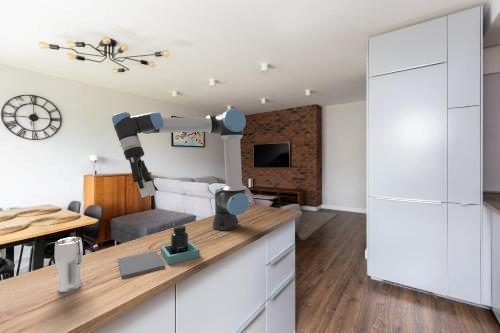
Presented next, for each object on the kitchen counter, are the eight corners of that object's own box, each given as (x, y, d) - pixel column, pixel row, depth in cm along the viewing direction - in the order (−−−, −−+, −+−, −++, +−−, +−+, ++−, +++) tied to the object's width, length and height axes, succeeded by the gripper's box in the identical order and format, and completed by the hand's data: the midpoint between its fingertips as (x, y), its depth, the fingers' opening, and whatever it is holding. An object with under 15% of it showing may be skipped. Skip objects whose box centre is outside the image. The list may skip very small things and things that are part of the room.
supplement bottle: (179, 260, 94) (178, 230, 93) (167, 256, 97) (166, 227, 97) (191, 254, 100) (191, 225, 99) (180, 250, 103) (180, 223, 103)
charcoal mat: (155, 253, 101) (155, 250, 101) (164, 267, 87) (164, 265, 87) (117, 261, 93) (117, 258, 93) (121, 278, 80) (121, 275, 80)
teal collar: (189, 247, 107) (189, 240, 107) (199, 256, 97) (199, 249, 97) (160, 253, 100) (160, 246, 100) (168, 264, 90) (168, 256, 90)
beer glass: (53, 296, 70) (51, 246, 69) (59, 284, 76) (57, 238, 76) (82, 289, 73) (80, 242, 73) (85, 279, 79) (83, 235, 79)
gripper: (132, 155, 112) (148, 197, 112) (111, 146, 88) (131, 200, 87) (148, 150, 114) (163, 191, 113) (132, 140, 89) (151, 193, 89)
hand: (149, 195), depth 100 cm, fingers open, 13 cm apart
